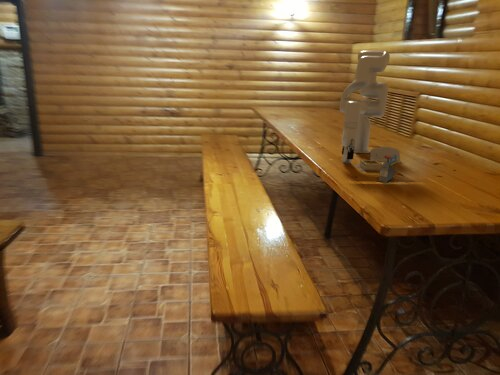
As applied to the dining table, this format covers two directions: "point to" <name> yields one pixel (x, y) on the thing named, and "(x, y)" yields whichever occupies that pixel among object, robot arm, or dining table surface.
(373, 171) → the base board
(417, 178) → the dining table surface
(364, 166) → the square socket board
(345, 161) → the beige cylindrical canister
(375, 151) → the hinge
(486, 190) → the dining table surface
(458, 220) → the dining table surface
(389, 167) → the label tape box
